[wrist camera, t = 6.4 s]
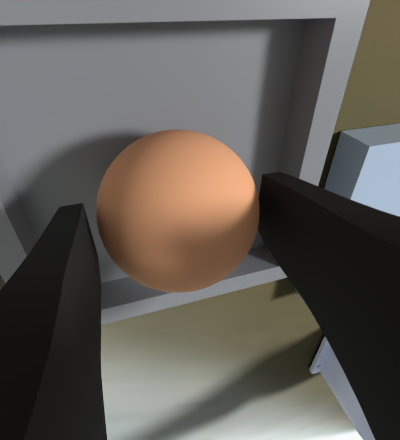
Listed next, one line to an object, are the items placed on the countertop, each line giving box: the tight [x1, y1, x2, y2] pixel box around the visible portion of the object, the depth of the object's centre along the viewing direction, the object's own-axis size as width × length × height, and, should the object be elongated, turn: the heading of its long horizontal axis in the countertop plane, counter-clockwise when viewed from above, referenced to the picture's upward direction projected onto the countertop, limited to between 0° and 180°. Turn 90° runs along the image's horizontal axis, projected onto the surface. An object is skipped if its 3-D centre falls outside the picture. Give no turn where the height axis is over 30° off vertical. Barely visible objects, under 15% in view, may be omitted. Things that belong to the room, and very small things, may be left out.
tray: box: [0, 0, 370, 325], centre depth 11 cm, size 12×12×2 cm
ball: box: [96, 129, 260, 293], centre depth 10 cm, size 5×5×5 cm
